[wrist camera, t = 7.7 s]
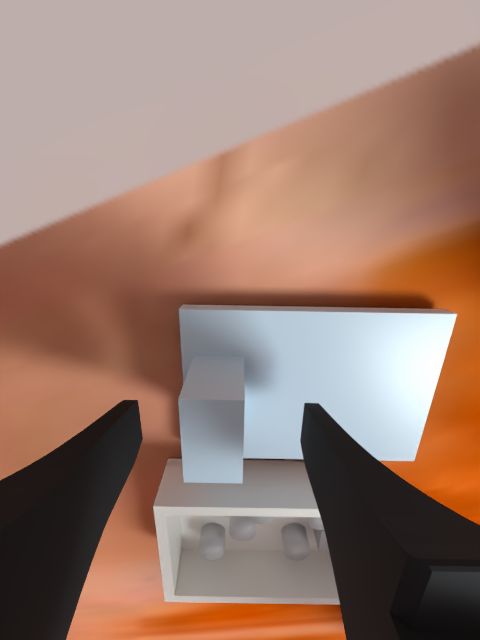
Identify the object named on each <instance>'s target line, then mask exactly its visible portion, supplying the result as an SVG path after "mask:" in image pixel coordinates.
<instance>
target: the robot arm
mask: <svg viewBox="0 0 480 640" xmlns="http://www.w3.org/2000/svg"><path fill="white" fill-rule="evenodd" d="M142 439H143V438H142V430H141V422H140V414H139V407H138V400H123V401H122V402H120V403H119V404H117V405H116V406H115V407H113V408H112V409H111V410H109V411H108V412H107V413H105V414H104V415H103V416H102V417H100V418H99V419H98V420H96V421H95V422H94V423H92V424H91V425H90V426H88V427H87V428H86V429H84V430H83V431H81V432H80V433H78V434H77V435H76V436H74V437H73V438H71V439H70V440H68V441H67V442H65V443H64V444H63V445H61V446H60V447H58V448H57V449H55V450H54V451H52V452H50V453H49V454H47V455H46V456H44V457H42V458H41V459H39V460H37V461H35V462H34V463H32V464H30V465H29V466H27V467H25V468H23V469H21V470H20V471H18V472H16V473H14V474H12V475H10V476H8V477H6V478H4V479H2V480H1V481H0V640H66V637H67V634H68V631H69V628H70V625H71V622H72V619H73V616H74V613H75V610H76V606H77V603H78V600H79V597H80V594H81V591H82V588H83V585H84V583H85V580H86V577H87V574H88V571H89V568H90V565H91V563H92V560H93V557H94V554H95V552H96V549H97V546H98V543H99V541H100V538H101V535H102V533H103V530H104V528H105V525H106V523H107V521H108V518H109V516H110V514H111V512H112V510H113V507H114V505H115V503H116V501H117V499H118V497H119V495H120V493H121V491H122V488H123V486H124V484H125V482H126V480H127V478H128V476H129V474H130V471H131V469H132V467H133V465H134V463H135V460H136V457H137V454H138V451H139V448H140V445H141V442H142ZM300 443H301V448H302V454H303V459H304V464H305V468H306V471H307V474H308V478H309V481H310V484H311V487H312V491H313V494H314V497H315V500H316V503H317V507H318V510H319V513H320V516H321V520H322V523H323V527H324V531H325V535H326V539H327V544H328V548H329V553H330V558H331V562H332V567H333V572H334V577H335V582H336V587H337V592H338V597H339V602H340V607H341V612H342V618H343V623H344V628H345V634H346V639H347V640H480V525H478V524H476V523H474V522H472V521H470V520H468V519H467V518H465V517H463V516H461V515H459V514H458V513H456V512H454V511H452V510H451V509H449V508H447V507H446V506H444V505H442V504H440V503H439V502H437V501H436V500H434V499H432V498H431V497H429V496H427V495H426V494H424V493H423V492H421V491H420V490H418V489H417V488H415V487H414V486H412V485H411V484H409V483H408V482H406V481H405V480H403V479H402V478H401V477H399V476H398V475H396V474H395V473H394V472H392V471H391V470H390V469H389V468H387V467H386V466H385V465H383V464H382V463H381V462H379V461H378V460H377V459H376V458H375V457H373V456H372V455H371V454H370V453H369V452H368V451H366V450H365V449H364V448H363V447H362V446H361V445H360V444H358V443H357V442H356V441H355V440H354V439H353V438H352V437H351V436H350V435H349V434H348V433H347V432H346V431H345V430H344V429H343V428H342V427H341V426H340V425H339V424H338V423H337V422H336V421H335V420H334V419H333V418H332V417H331V416H330V415H329V414H328V413H327V412H326V410H325V409H324V408H323V407H322V406H321V405H320V404H319V403H304V411H303V420H302V429H301V438H300Z"/></svg>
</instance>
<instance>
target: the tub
mask: <svg viewBox="0 0 480 640" xmlns="http://www.w3.org/2000/svg"><path fill="white" fill-rule="evenodd" d="M153 509H154V517H155V525H156V533H157V541H158V549H159V557H160V565H161V573H162V582H163V590H164V598H165V602H207V603H268V604H330V605H340V602H339V597H338V592H337V587H336V582H335V577H334V572H333V567H332V562H331V558H330V553H329V548H328V544H327V539H326V535H325V531H324V527H323V523H322V520H321V516H320V513H319V510H318V507H317V503H316V500H315V497H314V494H313V491H312V487H311V484H310V481H309V478H308V474H307V471H306V468H305V464H304V461H292V460H243V483H184V478H183V464H182V459H168V460H167V464H166V467H165V470H164V473H163V476H162V480H161V483H160V486H159V489H158V492H157V496H156V499H155V502H154V505H153Z"/></svg>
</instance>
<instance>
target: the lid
mask: <svg viewBox="0 0 480 640" xmlns="http://www.w3.org/2000/svg"><path fill="white" fill-rule="evenodd" d="M456 316H457V314H456V313H453V312H451V311H449V310H446V309H421V308H362V307H304V306H245V305H187V304H182V306H181V307H180V308H179V323H180V339H181V356H182V372H183V387H182V390H181V393H180V395H179V398H178V406H179V420H180V435H181V449H182V464H183V478H184V483H243V458H261V459H303V454H302V448H301V443H300V438H301V429H302V420H303V411H304V403H319V404H320V405H321V406H322V407H323V408H324V409H325V410H326V412H327V413H328V414H329V415H330V416H331V417H332V418H333V419H334V420H335V421H336V422H337V423H338V424H339V425H340V426H341V427H342V428H343V429H344V430H345V431H346V432H347V433H348V434H349V435H350V436H351V437H352V438H353V439H354V440H355V441H356V442H357V443H358V444H360V445H361V446H362V447H363V448H364V449H365V450H366V451H368V452H369V453H370V454H371V455H372V456H373V457H375V458H376V459H377V460H379V461H414V460H415V457H416V453H417V450H418V446H419V443H420V439H421V436H422V433H423V429H424V426H425V422H426V419H427V415H428V412H429V409H430V405H431V402H432V398H433V395H434V392H435V388H436V385H437V381H438V378H439V374H440V371H441V368H442V364H443V361H444V357H445V354H446V350H447V347H448V344H449V340H450V337H451V333H452V330H453V327H454V323H455V320H456Z"/></svg>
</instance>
